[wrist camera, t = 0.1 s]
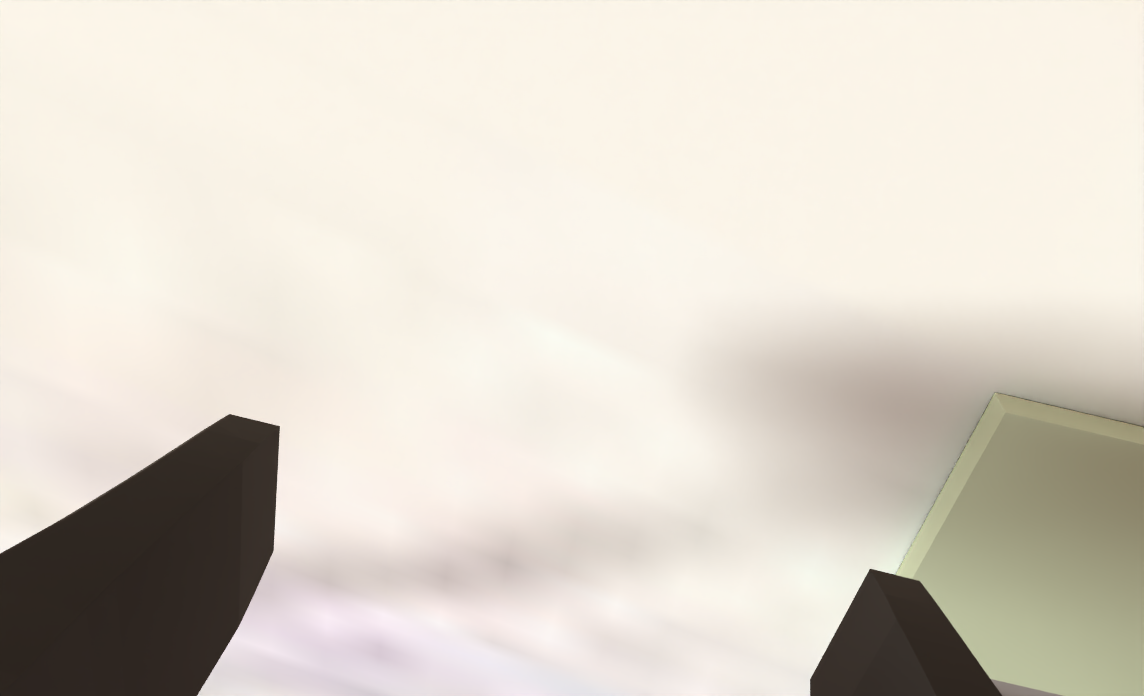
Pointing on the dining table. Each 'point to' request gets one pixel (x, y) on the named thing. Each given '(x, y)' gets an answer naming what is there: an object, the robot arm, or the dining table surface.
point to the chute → (1042, 550)
